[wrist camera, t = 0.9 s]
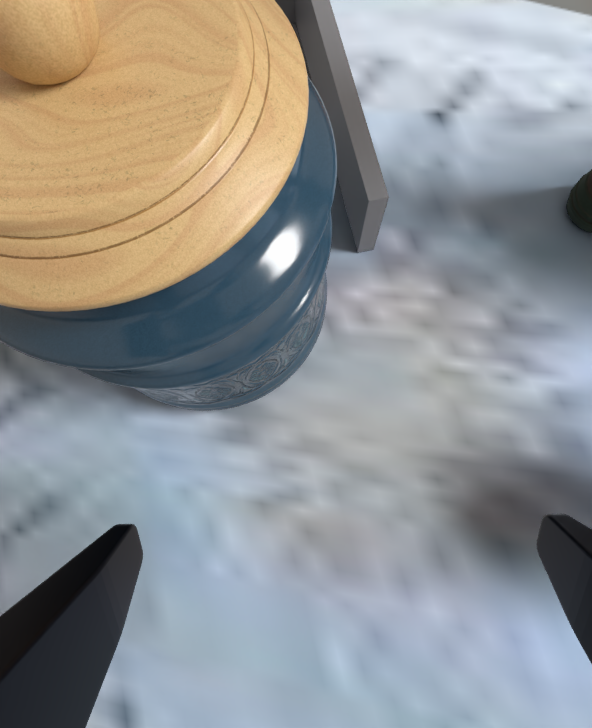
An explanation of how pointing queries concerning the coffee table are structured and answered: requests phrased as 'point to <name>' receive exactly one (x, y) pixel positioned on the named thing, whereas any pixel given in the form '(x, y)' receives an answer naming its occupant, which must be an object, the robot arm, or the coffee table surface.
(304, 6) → the corral
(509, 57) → the coffee table surface
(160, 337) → the canister
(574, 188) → the stick grenade
